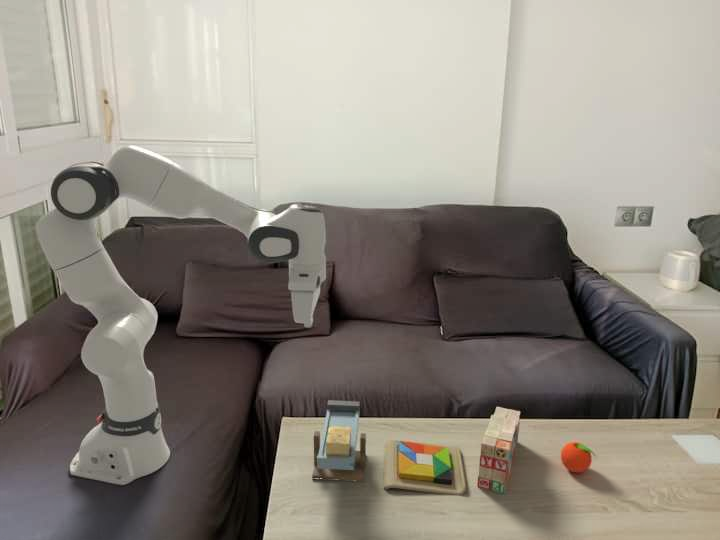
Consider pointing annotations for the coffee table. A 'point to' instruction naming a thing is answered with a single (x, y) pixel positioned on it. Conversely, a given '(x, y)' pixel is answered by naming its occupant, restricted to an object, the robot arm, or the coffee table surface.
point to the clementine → (576, 457)
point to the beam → (339, 417)
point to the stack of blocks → (498, 449)
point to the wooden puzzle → (423, 467)
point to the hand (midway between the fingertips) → (308, 324)
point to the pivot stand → (336, 473)
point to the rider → (338, 441)
